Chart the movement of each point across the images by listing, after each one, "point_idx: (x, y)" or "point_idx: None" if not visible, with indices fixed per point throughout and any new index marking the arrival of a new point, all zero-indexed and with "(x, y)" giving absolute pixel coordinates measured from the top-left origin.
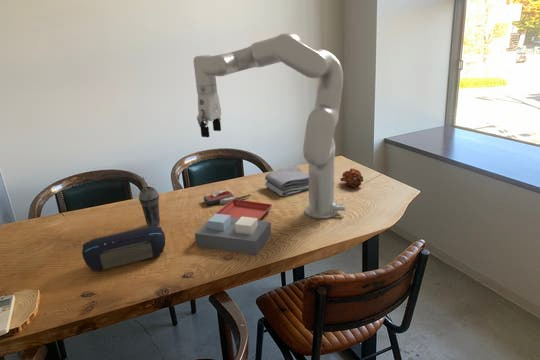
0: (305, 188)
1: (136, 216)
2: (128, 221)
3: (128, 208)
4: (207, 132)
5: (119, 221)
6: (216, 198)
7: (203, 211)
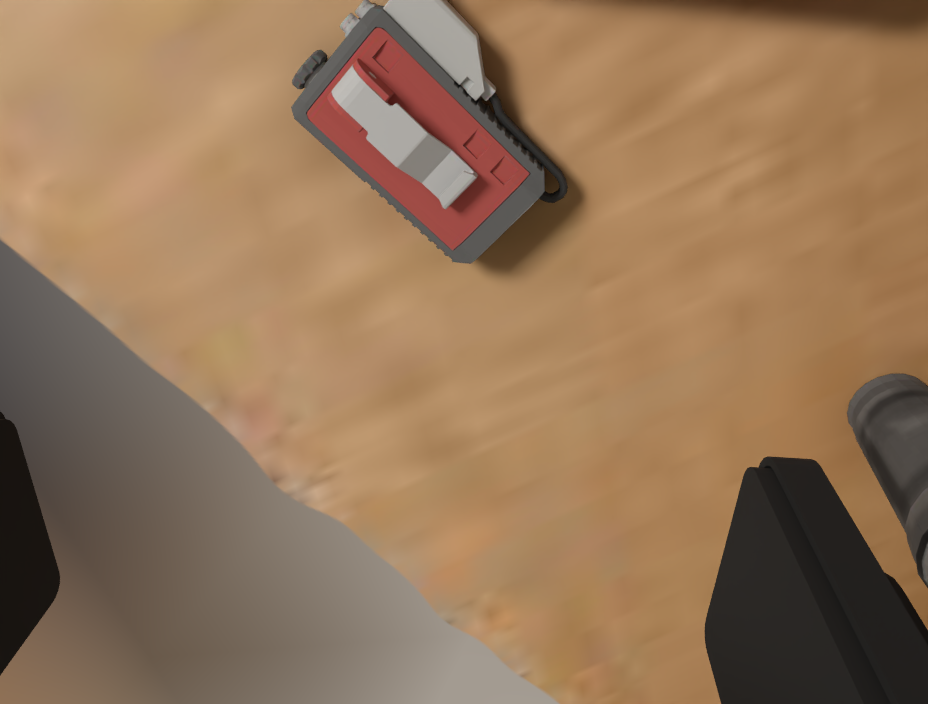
0: None
1: None
2: None
3: (647, 641)
4: (864, 588)
5: None
6: (485, 136)
7: (641, 175)
